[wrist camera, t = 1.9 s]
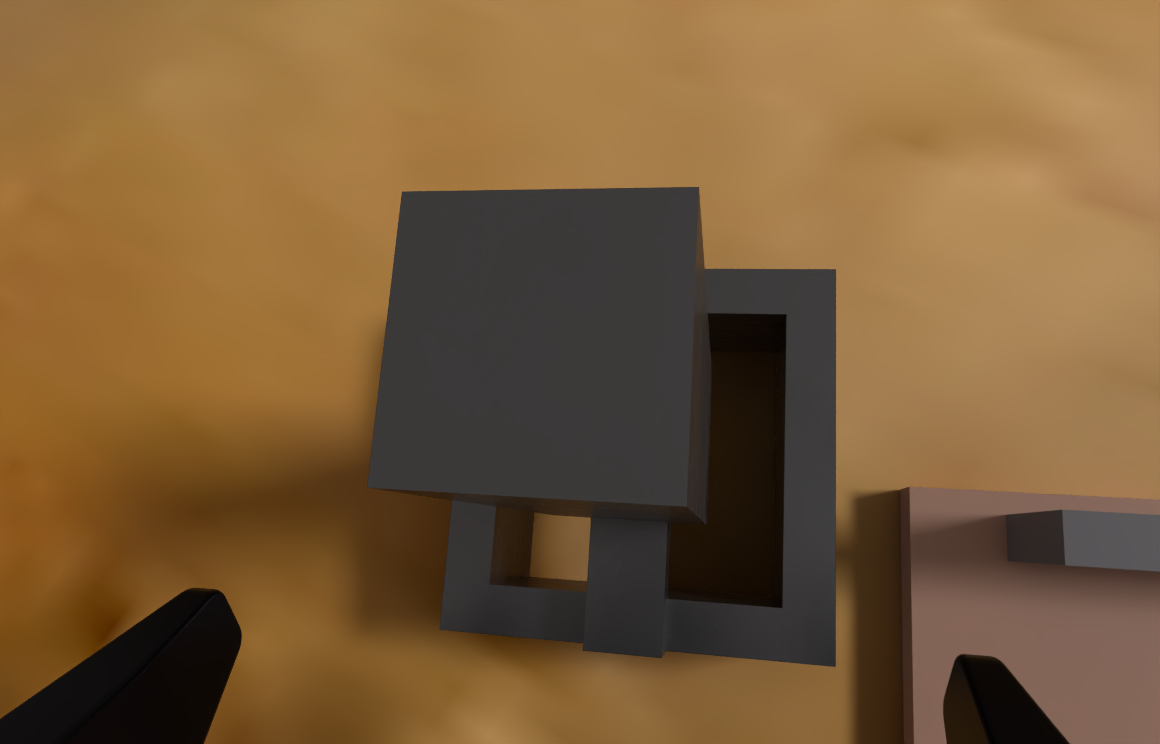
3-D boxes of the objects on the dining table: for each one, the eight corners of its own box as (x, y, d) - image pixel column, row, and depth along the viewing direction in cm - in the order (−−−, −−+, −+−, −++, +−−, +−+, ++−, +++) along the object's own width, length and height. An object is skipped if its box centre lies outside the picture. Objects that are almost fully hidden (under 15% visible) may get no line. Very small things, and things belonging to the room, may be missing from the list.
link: (814, 643, 18) (1008, 863, 6) (487, 614, 20) (88, 740, 7) (817, 315, 20) (973, -62, 7) (513, 310, 21) (220, -10, 9)
